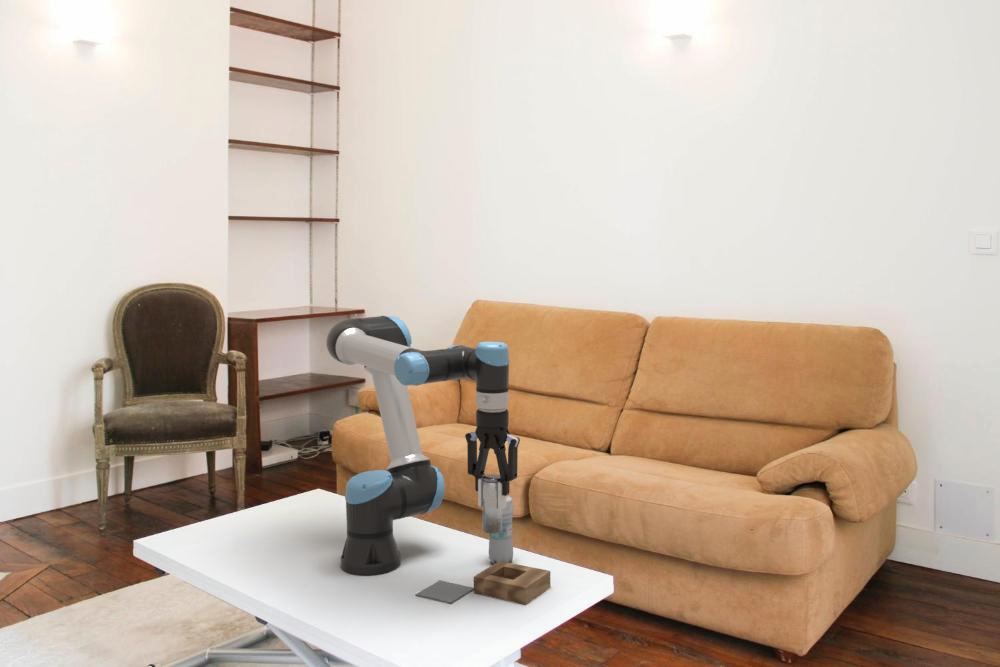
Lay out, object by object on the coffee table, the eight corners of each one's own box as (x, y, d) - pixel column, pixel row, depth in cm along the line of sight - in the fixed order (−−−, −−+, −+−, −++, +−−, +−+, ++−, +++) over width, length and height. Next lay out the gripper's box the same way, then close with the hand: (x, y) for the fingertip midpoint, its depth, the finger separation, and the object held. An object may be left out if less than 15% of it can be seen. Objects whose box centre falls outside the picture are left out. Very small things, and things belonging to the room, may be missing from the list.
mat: (415, 595, 214) (415, 594, 214) (439, 581, 222) (439, 580, 222) (451, 604, 209) (451, 602, 209) (474, 589, 217) (474, 587, 217)
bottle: (511, 567, 232) (510, 490, 229) (485, 565, 233) (484, 488, 231) (516, 558, 238) (515, 483, 236) (491, 556, 239) (490, 481, 237)
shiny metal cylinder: (478, 531, 215) (478, 478, 213) (488, 525, 219) (488, 473, 217) (496, 534, 213) (496, 480, 211) (505, 528, 217) (505, 476, 215)
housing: (473, 593, 215) (473, 576, 215) (499, 576, 225) (499, 560, 225) (525, 604, 208) (525, 587, 207) (550, 587, 218) (550, 570, 218)
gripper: (451, 407, 213) (451, 505, 216) (518, 415, 205) (518, 516, 208) (468, 402, 220) (468, 497, 223) (533, 409, 211) (533, 508, 214)
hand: (492, 506), depth 215 cm, fingers closed on shiny metal cylinder, 5 cm apart
